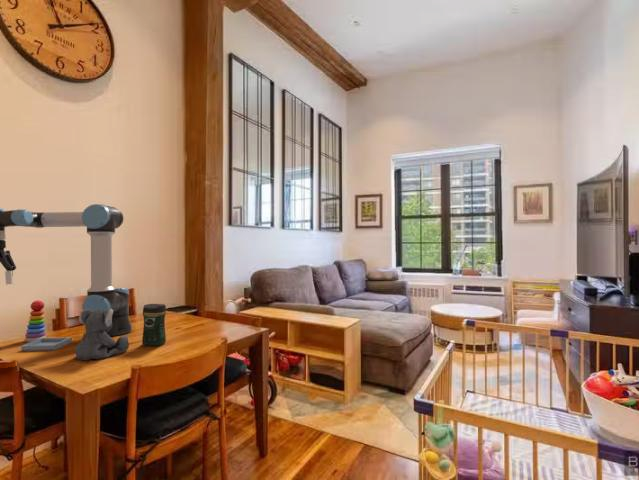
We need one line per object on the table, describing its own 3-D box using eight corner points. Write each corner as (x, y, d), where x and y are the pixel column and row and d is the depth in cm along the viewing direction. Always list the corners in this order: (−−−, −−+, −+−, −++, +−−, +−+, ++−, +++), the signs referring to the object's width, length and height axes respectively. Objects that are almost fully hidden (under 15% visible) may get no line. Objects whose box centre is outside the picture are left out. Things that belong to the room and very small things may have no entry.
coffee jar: (168, 342, 167) (169, 302, 167) (158, 347, 159) (159, 305, 159) (150, 341, 168) (150, 302, 169) (138, 345, 161) (139, 304, 161)
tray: (71, 342, 165) (72, 337, 165) (54, 350, 152) (54, 345, 152) (41, 342, 164) (41, 337, 164) (21, 351, 151) (21, 345, 151)
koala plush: (132, 350, 154) (133, 305, 154) (97, 364, 136) (98, 313, 137) (98, 347, 158) (99, 303, 158) (61, 360, 140) (62, 310, 140)
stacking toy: (34, 343, 163) (35, 302, 163) (20, 342, 164) (21, 301, 164) (50, 338, 170) (51, 299, 171) (36, 337, 172) (37, 299, 172)
